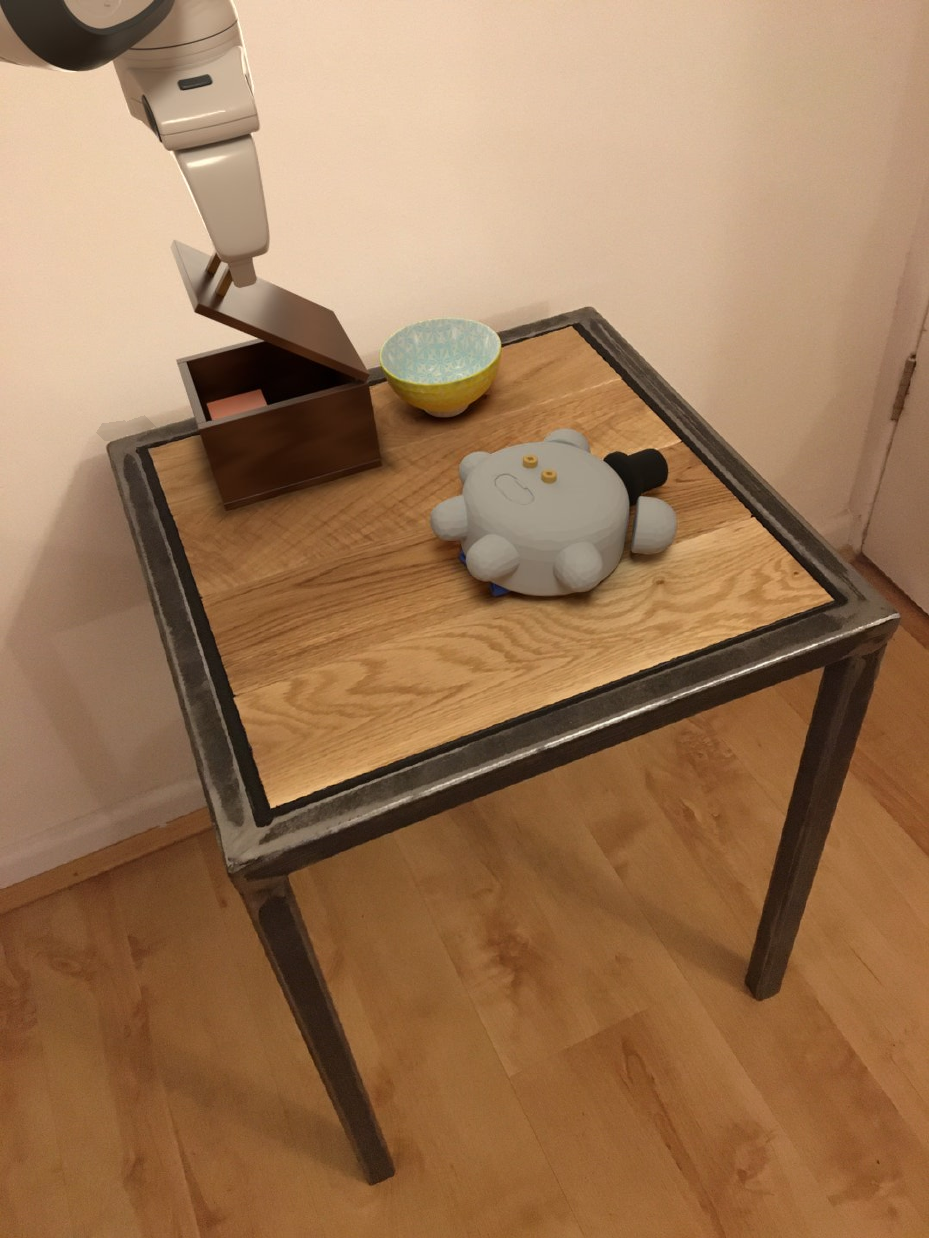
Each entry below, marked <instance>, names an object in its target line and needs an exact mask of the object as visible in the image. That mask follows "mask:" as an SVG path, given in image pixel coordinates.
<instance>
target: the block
mask: <svg viewBox="0 0 929 1238" xmlns="http://www.w3.org/2000/svg"><path fill="white" fill-rule="evenodd" d="M264 406H267V403H266V401H265V399H264V396H263V394H262V391H261V389H259V390H255V391H251V392H248V393H244V394H240V395H236V396H233V397H229V398H225V399H221V400H218V401H214V402H210V403H207V407H208V410H209V414H210V417H211V420H215V419H219V418H223V417H227V416H230V415H234V414H238V413H241V412H245V411H249V410H252V409H256V408H260V407H264Z"/></svg>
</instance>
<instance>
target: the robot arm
mask: <svg viewBox="0 0 929 1238" xmlns="http://www.w3.org/2000/svg"><path fill="white" fill-rule="evenodd" d="M0 62H1V63H7V64H12V65H15V66H16V65H17V66H21V67H27V68H36V69H41V70H46V71H47V70H48V71H53V72H59V73H60V72H61V73H77V72H78V73H79V72H89V71H94V70H96V69H99V68H101V67H104V66H105V65H107V64H109V63H110V62H112V63H113V67H114V70H115V73H116V77H117V80H118V83H119V86H120V89H121V92H122V96H123V99H124V102H125V104H126V108H127V111H128V113H129V115H130V116H131V117H132V118H134V119H135V120H137V121H139V122H141V123H142V124H143V125H145V127H146V128H148V129H149V130H150V131H151V132H152V133H153V134H154V135H155V136H156V139H157V140H158V142H159V143H161V146H162V147H163V149H164V150H165V152H169V153H170V155H171V156H172V158H173V159H174V161H175V162H176V164H177V165H176V166H177V167H178V169H179V171H180V174H181V176H182V178H183V181H184V183H185V185H186V187H187V189H188V191H189V194H190V196H191V198H192V200H193V203H194V205H195V207H196V209H197V212H198V214H199V216H200V219H201V221H202V223H203V226H204V228H205V230H206V233H207V235H208V237H209V239H210V243H211V244H212V247H213V249H214V250H215V251H216V253H217V255H218V257H219V258H220V260H221V261H222V262H224V263H227V265H228V269H229V272H230V276H231V278H232V281H233V283H234V285H235V286H236V287H238V288H242V287H246V286H250V285H253V284H255V283H256V281H257V277H258V276H257V274H256V270H255V266H254V258H257V257H261V256H263V255H265V254H267V253H268V252H269V250H270V240H271V239H270V236H271V235H270V225H269V219H268V212H267V205H266V199H265V198H266V197H265V192H264V186H263V180H262V174H261V169H260V168H261V167H260V163H259V156H258V152H257V148H256V147H257V146H256V142H255V139H254V135H253V134H254V133H257V132H259V131H260V130H261V122H260V121H261V120H260V117H259V113H258V108H257V105H256V100H255V96H254V93H255V86H254V81H253V77H252V73H251V72H252V71H251V67H250V63H249V59H248V55H247V50H246V46H245V41H244V36H243V32H242V28H241V24H240V18H239V14H238V9H237V8H236V4H235V3H234V0H0ZM256 276H257V277H256Z"/></svg>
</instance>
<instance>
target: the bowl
mask: <svg viewBox="0 0 929 1238" xmlns="http://www.w3.org/2000/svg"><path fill="white" fill-rule="evenodd" d="M501 340H502V339H500V336H499V334H498V333H497V332H496V331H495V330H494V329H493V328H492V327H490V326H488V325H486V324H485V323H483V322H480V321H477V320H474V319H470V318H465V317H453V316H452V317H451V316H449V317H447V316H446V317H445V316H444V317H433V318H428V319H422V320H419V321H416V322H413V323H409V324H407V325H405V326H404V327H402V328H399V329H397V330H396V331H394V332H393V333H392V334H391V335H389V336H388V337H387V339H385V341H384V342H383V344H382V345H381V348H380V350H379V357H378V358H379V364H380V367H381V370H382V373H383V375H384V378H385V380H386V382H387V383H388V385H389V387H391V389H392V390H393V392H394V393H395V394H396V395H397V396H398V397H399V398H401V399H402V400H403V401H404V402H406V403H407V404H409V405H411V406H412V407H415V408H417V409H420V410H422V411H423V410H424V411H425V412H426V413H427V414H428V415H430V416H432V417H435V418H450V417H451V418H452V417H455V416H458V415H460V414H461V413H463V412H465V411H466V410H467V409H468V407H469V405H470V404H473V402H475V401H477V400H478V399H479V398H481V397H482V396H483V395H484V393H485V392H486V391H488V389H490V387H491V386H492V383H493V382H494V380H495V378H496V376H497V373H498V370H499V366H500V363H501V358H502V341H501Z"/></svg>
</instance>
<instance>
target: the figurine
mask: <svg viewBox="0 0 929 1238" xmlns="http://www.w3.org/2000/svg"><path fill="white" fill-rule="evenodd" d="M668 477H669V466H668V462H667V459H666V458H665V456H664V455H663V453H662V452H661V451H660V450H658V449H656V448H651V447H650V448H649V447H647V448H645V449H642V450H639V451H637V452H634V453H631V454H627V453H626V452H624V451H620V450H619V451H618V450H616V451H613V452H609V453H608V454H606V455H605V456H604V457H603V459H601V458H600V457H598V456H596V455H594V454H592V452H591V446H590V443H589V441H588V439H587V437H585V435H583V434H582V433H581V432H579V431H578V430H575V429H572V428H557V429H555V430H553V431H551V432H550V433H549V434H547V435H546V436H545V437H544V439H543V440H542V441H533V442H524V443H520V444H515V445H511V446H506V447H504V448H502V449H498V450H497V451H493V452H492V453H490V452H487V451H482V450H481V451H478V450H477V451H473V452H471V453H469V454H467V455H465V456H464V458H463V459H462V460H461V461H460V464H459V467H458V478H459V480H460V483H461V484H462V491H461V494H459V495H456V496H453V497H449V498H446V499H445V500H443V501H441V502H439V503H437V505H435V506H434V507H433V509H432V510H431V511H430V514H429V524H430V529H431V530H432V532H433V534H434V535H435V537H437V538H438V539H439V540H441V541H444V542H456V541H457V542H458V541H460V546H461V549H462V550H461V551H460V552H459V555H458V556H459V559H460V561H461V562H462V563H463V564H465V565H466V568H467V571H468V572H469V574H470V575H471V576H472V577H473V578H474V579H476V580H479V581H482V582H488V585H489V588H490V591H491V594H492V595H493V596H494V597H498V596H503V595H505V594H508V593H511V592H515V593H518V594H522V595H527V596H535V597H536V596H537V597H557V596H566V595H570V594H574V593H585V592H589V591H591V590H593V589H594V588H596V586H598V584H600V582H601V581H604V580H605V579H606V578H608V576H609V575H611V574H612V573H613V572H614V570H615V569H616V568H617V566H618V565H619V563H620V561H621V559H622V556H623V553H624V549H625V542H626V537H627V532H628V525H629V519H630V507H634V506H635V505H636V506H635V510H634V516H633V521H632V531H631V543H630V550H631V552H632V553H634V554H643V555H653V554H657V553H660V552H662V551H664V550H666V549H668V548H669V547H670V546H671V545H672V543H673V542H674V541H675V538H676V535H677V531H678V517H677V514H676V511H675V510H674V509H673V507H672V506H671V505H670V504H668V503H667V502H666V501H665V500H662V499H660V498H657V497H652V496H643V495H642V494H645V493H648V492H650V491H653V490H655V489H657V488H660V487H663V485H664V484H666V483H667V480H668Z"/></svg>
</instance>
